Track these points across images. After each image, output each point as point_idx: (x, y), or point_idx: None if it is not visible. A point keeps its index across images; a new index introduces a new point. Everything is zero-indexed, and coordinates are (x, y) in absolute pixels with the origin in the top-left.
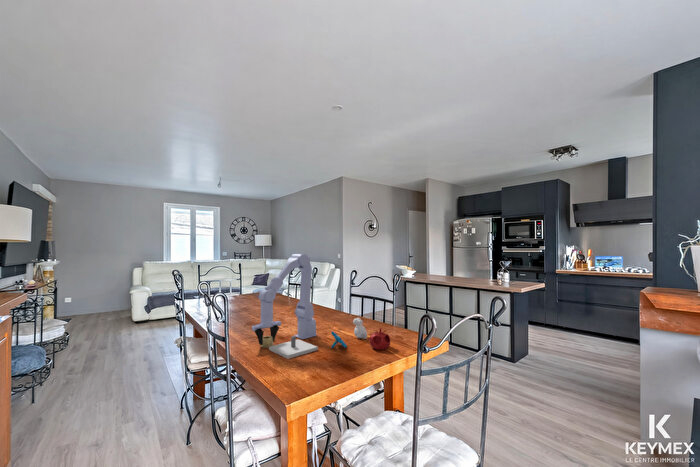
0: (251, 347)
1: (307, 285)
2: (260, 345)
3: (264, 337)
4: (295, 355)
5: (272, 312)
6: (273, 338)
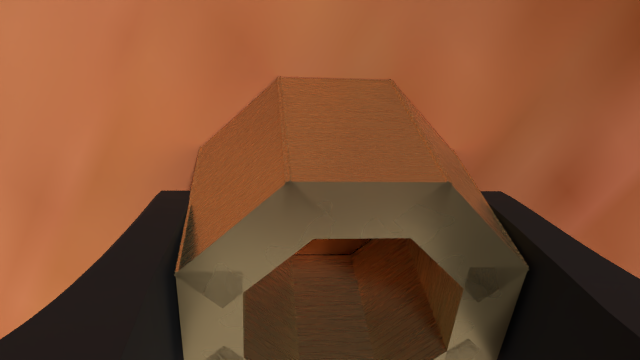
0: (5, 49)
1: None
2: (198, 171)
3: (341, 229)
4: None
5: None
6: None
